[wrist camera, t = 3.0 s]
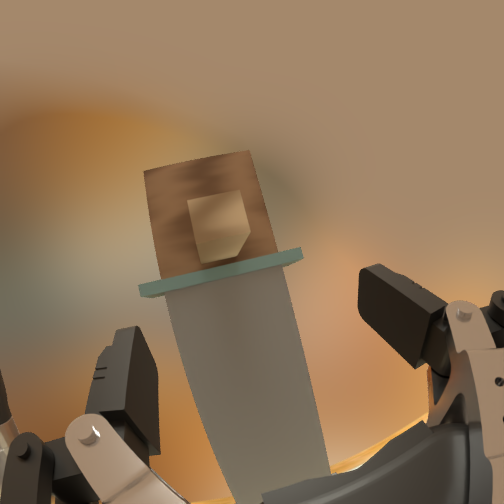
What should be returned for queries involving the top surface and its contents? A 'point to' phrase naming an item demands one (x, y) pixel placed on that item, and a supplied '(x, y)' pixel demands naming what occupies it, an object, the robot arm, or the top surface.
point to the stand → (247, 372)
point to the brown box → (207, 214)
